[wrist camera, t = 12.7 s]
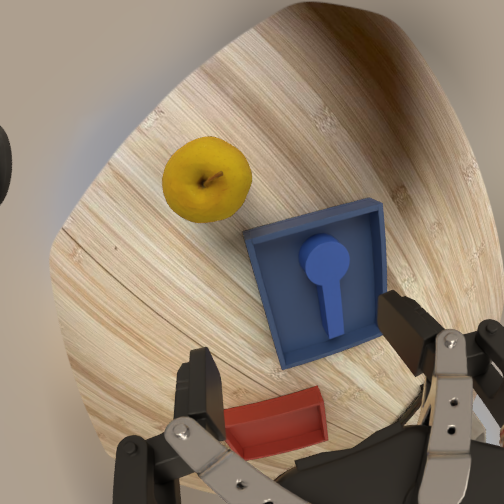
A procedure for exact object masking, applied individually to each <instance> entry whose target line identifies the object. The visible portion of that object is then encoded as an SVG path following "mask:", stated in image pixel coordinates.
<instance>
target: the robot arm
mask: <svg viewBox="0 0 504 504" xmlns="http://www.w3.org/2000/svg"><path fill="white" fill-rule="evenodd" d="M377 323H378V327H379V330H380V332H381V333H382V334H383V336H384V337H385V338H386V339H387V341H388V342H389V343H390V345H391V346H392V347H393V348H394V350H395V351H396V352H397V354H398V355H399V356H400V358H401V359H402V360H403V361H404V363H405V364H406V365H407V367H408V368H409V369H410V371H411V372H412V373H413V375H414V376H415V377H417V376H418V375H420V374H422V373H424V375H425V376H426V377H425V381H424V390H423V397H422V404H421V411H420V415H419V419H418V422H417V425H407V426H402V425H401V423H400V421H398V422H396V423H394V424H392V425H389V426H387V427H385V428H383V429H381V430H379V431H376V432H375V433H373V434H372V435H371V436H369V437H368V438H366V439H365V440H364V441H362V442H361V443H359V444H358V445H356V446H355V447H353V448H351V449H345V450H338V451H330V452H322V453H319V454H315V455H312V456H309V457H305V458H302V459H298V460H295V464H296V467H294V468H292V469H290V470H289V471H287V472H286V473H284V474H283V475H282V476H280V477H279V478H278V479H277V480H276V481H273V480H272V479H270V478H269V477H267V476H266V475H264V474H263V473H262V472H260V471H259V470H257V469H256V468H255V467H253V466H252V465H251V464H249V463H248V462H247V461H245V460H244V459H243V458H241V457H240V456H239V455H238V454H236V453H235V452H234V451H232V450H230V449H227V448H226V447H225V446H223V445H222V444H221V443H220V442H219V441H225V440H226V430H225V419H224V408H223V396H222V383H221V377H220V373H219V370H218V368H217V366H216V364H215V362H214V360H213V358H212V355H211V353H210V351H209V349H208V348H207V347H203V348H199V349H194V350H191V351H190V360H189V362H187V363H182V365H181V367H180V369H179V370H178V372H177V381H176V382H177V384H176V392H175V405H174V418H173V420H172V421H171V422H170V423H169V424H168V425H167V427H166V429H165V432H163V433H162V434H160V435H157V436H155V437H152V438H149V439H147V440H144V439H143V438H142V437H140V436H137V435H131V436H128V437H125V438H124V439H123V440H122V441H121V442H120V443H119V444H118V447H117V451H116V461H115V462H116V463H115V472H114V486H113V504H181V496H180V484H179V478H180V477H183V476H186V475H188V474H191V473H194V472H196V473H197V474H198V476H199V477H200V478H201V479H202V480H203V481H204V482H205V483H206V484H207V485H208V486H209V487H210V488H211V489H212V490H213V491H214V492H215V493H216V494H218V495H219V496H220V497H221V498H222V499H223V500H224V501H225V502H227V503H228V504H504V327H503V326H502V325H501V324H500V323H499V322H497V321H495V320H491V319H487V320H484V321H482V322H481V323H480V324H479V326H478V329H477V331H475V332H471V333H467V334H462V333H461V332H459V331H457V330H454V329H444V328H443V327H442V326H441V325H440V324H439V323H438V322H437V321H436V320H435V319H434V318H433V317H432V316H431V315H430V314H429V313H428V312H427V313H426V311H425V310H424V309H423V308H421V306H420V305H419V304H418V303H417V302H416V301H415V300H413V299H411V298H408V297H406V296H404V297H401V296H400V295H399V294H398V293H397V292H396V291H395V290H391V291H388V292H386V293H383V294H380V295H379V296H378V306H377ZM492 361H493V362H494V363H495V364H496V366H497V367H498V368H499V369H500V370H501V372H502V373H503V377H502V376H501V375H500V374H499V372H498V371H497V370H496V369H495V367H494V366H493V365H492V364H491V363H492ZM473 389H474V390H475V391H476V393H477V394H478V395H479V397H480V398H481V399H482V401H483V403H484V404H485V405H486V407H487V408H488V410H489V411H490V413H491V414H492V416H493V417H494V419H495V420H496V422H497V423H498V425H499V426H500V428H501V430H500V441H499V443H500V446H497V445H492V444H488V443H484V442H480V441H476V440H472V439H471V429H472V408H473Z"/></svg>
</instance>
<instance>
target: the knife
mask: <svg viewBox="0 0 504 504" xmlns="http://www.w3.org/2000/svg"><path fill="white" fill-rule="evenodd" d="M421 389H422V390H424V384H423V385H421ZM422 397H423V392H422V393H421V395H420V396H419V397H418V398H417V400H416V401H415V402H414V403H413V404H412V406H411V407H410V408H409V409H408V410H407V412H406V413H405V414H404V415H403V416H402V417H401V418H400V420H399V421H400V423H401V425H402V426H404V425H405V424H406V422H407V421H408V420H409V419H410V418H411V417H412V416H413V415H414V414H415V412H416V411H417V410H418V409H419V408H420V406H421V404H422Z"/></svg>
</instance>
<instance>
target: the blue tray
mask: <svg viewBox="0 0 504 504" xmlns="http://www.w3.org/2000/svg"><path fill="white" fill-rule="evenodd" d="M321 233H324V234H329V235H331V236H333V237H334V238H335V239H336V240H338V241H339V242H340V243H341V244H342V245H343V246H344V247H345V248H346V249H347V251H348V253H349V257H350V263H349V267H348V270H347V272H346V273H345V275H344V276H343V277H342V278H341V279H340V280H339V282H340V291H341V301H342V311H343V323H344V334H343V335H340V336H337V337H334V338H331V339H329V338H328V336H327V334H326V332H325V330H324V328H323V326H322V319H321V312H320V305H319V299H318V293H317V286H316V284H314V283H313V282H311V281H310V280H309V278H308V277H307V275H306V274H305V272H304V270H303V269H302V267H301V266H300V263H299V251H300V248H301V246H302V245H303V243H304V242H305V241H306V240H307V239H308V238H310V237H311V236H313V235H316V234H321ZM243 236H244V240H245V244H246V247H247V251H248V254H249V258H250V261H251V265H252V268H253V272H254V275H255V279H256V282H257V286H258V289H259V293H260V296H261V300H262V303H263V307H264V310H265V314H266V317H267V320H268V324H269V327H270V331H271V334H272V338H273V341H274V345H275V348H276V352H277V355H278V359H279V362H280V365H281V369H282V370H285V369H288V368H292V367H295V366H298V365H302V364H305V363H308V362H311V361H314V360H317V359H320V358H323V357H326V356H329V355H332V354H335V353H338V352H341V351H344V350H346V349H349V348H352V347H354V346H357V345H360V344H362V343H365V342H367V341H370V340H372V339H375V338H377V337H380V336H382V335H383V334H382V333H381V332H380V330H379V327H378V323H377V306H378V296H379V295H380V294H383V293H386V292H387V259H386V238H385V224H384V212H383V203H381V202H379V201H377V200H374V199H372V198H366V199H362V200H358V201H354V202H350V203H346V204H342V205H338V206H334V207H331V208H327V209H323V210H319V211H315V212H312V213H308V214H304V215H300V216H297V217H293V218H289V219H286V220H282V221H278V222H275V223H271V224H267V225H264V226H260V227H257V228H253V229H249V230H246V231H243Z"/></svg>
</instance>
